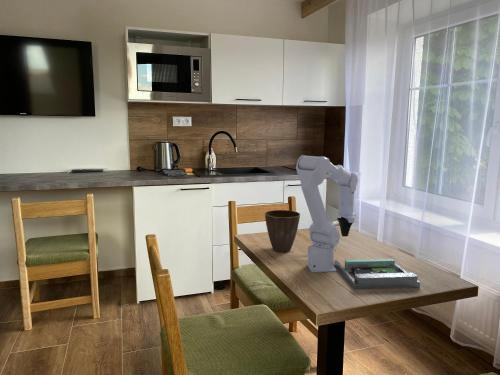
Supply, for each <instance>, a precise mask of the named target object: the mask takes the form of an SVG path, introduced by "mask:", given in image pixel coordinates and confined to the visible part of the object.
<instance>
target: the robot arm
mask: <svg viewBox="0 0 500 375" xmlns="http://www.w3.org/2000/svg"><path fill="white" fill-rule="evenodd" d="M295 169H296V174H297V176H298V179H299V181H300V187H301V190H302V193H303V196H304V199H305V203H306V206H307V208H308V211H309V214H310V215H309V216H310V218H311V220H312V223H311V224H310V226H309V239H310V240H311V242H312V245H308V248H307V263H306V266H307V267H308V269H309V270H310V272H311V273H326V272H337V271H338V269H337V267H336V266H335V265H334V260H335V247H337V245H338V244H339V242H340V239H341V236H342V237H349V234H350V231H351V227H352V225H353V224H354V223H355V216H357V213H356V212H354V206H355V205H354V203H355V192H356V190H357V189H356V188H357V185H358V181H359V179H358V175H357V174H356V173H355V172H350V171H349V170H348V169H346V168H344V167H343V165H342V164H337V165H334V164H333V163H332V162H331V161H330V158H329V157H326V156H315V155H304V154H302V155H300V156H299V157H298V159H297V162H296V165H295ZM327 174H328V175H329V178H330V179H331V180H333V181H335V182H336V185H337V186H339V190H338V191H339V192H338V209H337V216H339V217H337V218H336V220H337V221H338V225H339V229H340V232H339V230H338V229H337V227H336V225H335V224H333V223H332V222H331V221H329V219H328V216H327V212H326V208H325V206H324V205H325V204H324V203H323V200H322V195H321V192H320V189H319V185H322V184H323V182H324V180H325V177H326V176H327Z"/></svg>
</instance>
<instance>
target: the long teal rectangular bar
mask: <svg viewBox="0 0 500 375" xmlns="http://www.w3.org/2000/svg"><path fill="white" fill-rule="evenodd" d="M395 263H396V261H395V259H393V258H378V259H377V258H375V259H374V258H373V259H371V258H369V259H344V269H345V270H346V271H347V272H348V273H353V268H371V267H390V268H391V267H393V269H394V266H395ZM394 270H395V269H394Z"/></svg>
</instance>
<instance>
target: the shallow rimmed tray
mask: <svg viewBox="0 0 500 375" xmlns="http://www.w3.org/2000/svg"><path fill="white" fill-rule="evenodd" d="M333 266H334V267H335V268H336V270H337V271H339V273H341V276H343V277H344V278H345V280H347V282H348V283H349V284H350V285H351V287H352V288H353V289H354V290H378V289H380V290H382V289H408V288H409V289H411V288H414V289H416V288H420V287H421V282H420V281H419V280H418V279H419V277H418V275H416V274H415V273H414V272H407V271H406V270H405V269H404V268H402V266H400V265H398V264H397V263H396V262H395V266H394V270H396V271H397V272H399V273H376V274H355V275H354V277H352V275H351V274H350V272H347V271H346V270H345V266H343V265H342V264H341V263H340V262H339V261H338V259H334V264H333Z"/></svg>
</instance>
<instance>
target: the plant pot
mask: <svg viewBox="0 0 500 375" xmlns="http://www.w3.org/2000/svg"><path fill="white" fill-rule="evenodd" d="M264 217H265V224H266V225H265V226H266V230H267V233H268V238H269V242H270V244H271V247H272V250H273V251H274V252H277V253H289V252H291V250H292V248H293V246H294V243H295V239H296V236H297V233H298V228H299V224H300V220H301V219H300V217H301V213H300V212H298V211H294V210H287V209H286V210H285V209H274V210H268V211H265V212H264Z"/></svg>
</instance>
